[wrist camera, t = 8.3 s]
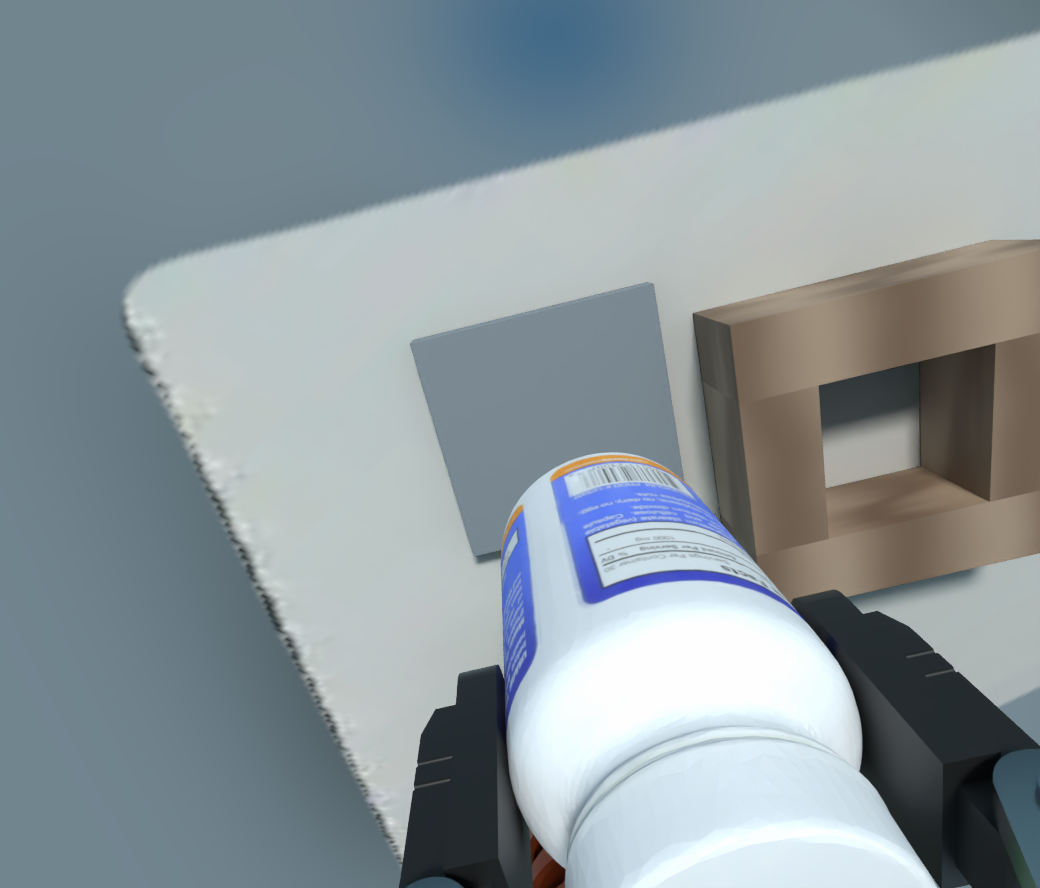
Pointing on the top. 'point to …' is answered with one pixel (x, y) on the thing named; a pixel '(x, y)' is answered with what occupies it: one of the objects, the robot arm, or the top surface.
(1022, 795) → the robot arm
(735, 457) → the socket block
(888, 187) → the top surface
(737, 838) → the pill bottle
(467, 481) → the mat
